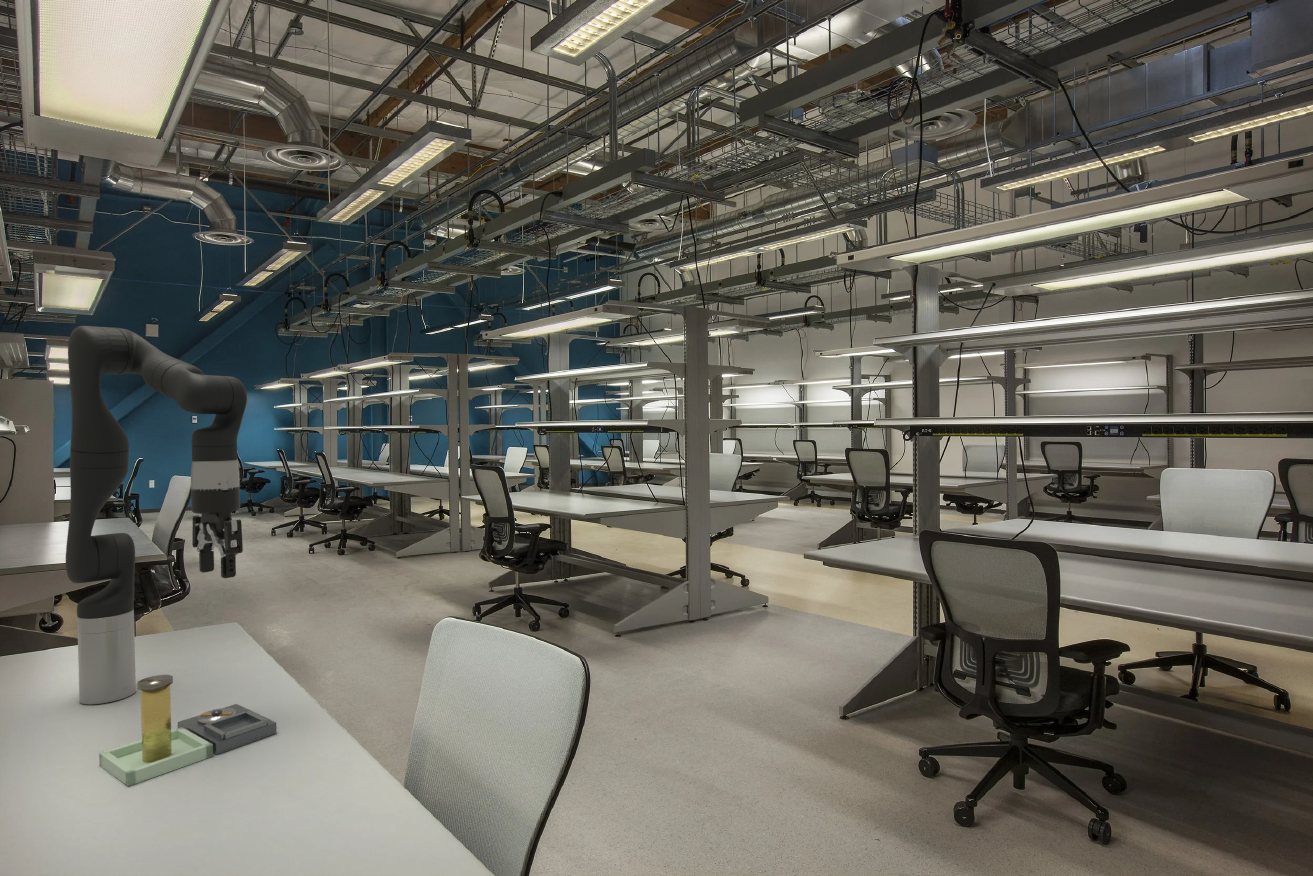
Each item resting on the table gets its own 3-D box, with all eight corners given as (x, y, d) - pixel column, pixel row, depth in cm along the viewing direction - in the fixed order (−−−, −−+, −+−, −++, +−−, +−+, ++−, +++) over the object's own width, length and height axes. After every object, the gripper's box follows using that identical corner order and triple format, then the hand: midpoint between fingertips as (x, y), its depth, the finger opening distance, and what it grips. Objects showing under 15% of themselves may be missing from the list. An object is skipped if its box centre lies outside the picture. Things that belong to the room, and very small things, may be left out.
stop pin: (134, 758, 118) (132, 681, 117) (167, 747, 122) (165, 672, 121) (146, 766, 115) (144, 687, 115) (179, 755, 119) (178, 678, 118)
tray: (99, 765, 117) (99, 753, 117) (181, 738, 126) (181, 727, 126) (128, 786, 110) (127, 773, 110) (212, 756, 120) (212, 744, 120)
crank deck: (177, 733, 129) (177, 716, 129) (236, 714, 137) (236, 698, 137) (216, 755, 120) (215, 736, 120) (276, 733, 128) (276, 716, 128)
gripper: (175, 485, 131) (177, 573, 131) (211, 489, 123) (213, 583, 123) (219, 482, 137) (221, 566, 137) (256, 485, 129) (258, 575, 129)
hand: (217, 574), depth 130 cm, fingers open, 8 cm apart
